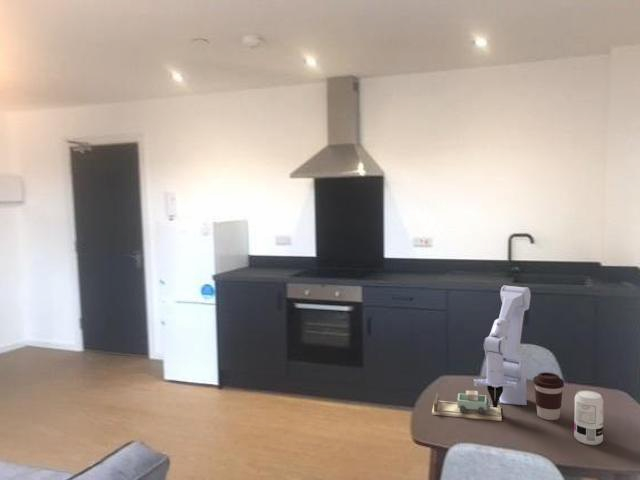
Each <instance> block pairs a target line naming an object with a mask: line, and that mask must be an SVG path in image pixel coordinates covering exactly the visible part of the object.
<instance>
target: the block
mask: <svg viewBox="0 0 640 480" xmlns="http://www.w3.org/2000/svg"><path fill="white" fill-rule="evenodd" d="M465 394H466V401H477V402H478V395H479V393H478V390H466V391H465Z"/></svg>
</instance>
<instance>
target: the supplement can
mask: <svg viewBox="0 0 640 480" xmlns="http://www.w3.org/2000/svg"><path fill="white" fill-rule="evenodd" d="M573 416H574V419H573V420H574V421H573V422H574V425H573V426H574V427H573V431H574V432H573V435H574V438H575V439H576V440H577V441H578V442H580V443H581V444H585V445H589V446H597V445H599V444H602V442H604V441H603V440H604V399H603V397H602V395H601V393H599V392H596V391H594V390H593V391H592V390H584V389H583V390H578V391H577V392H576V393H575V396H574V415H573Z"/></svg>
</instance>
